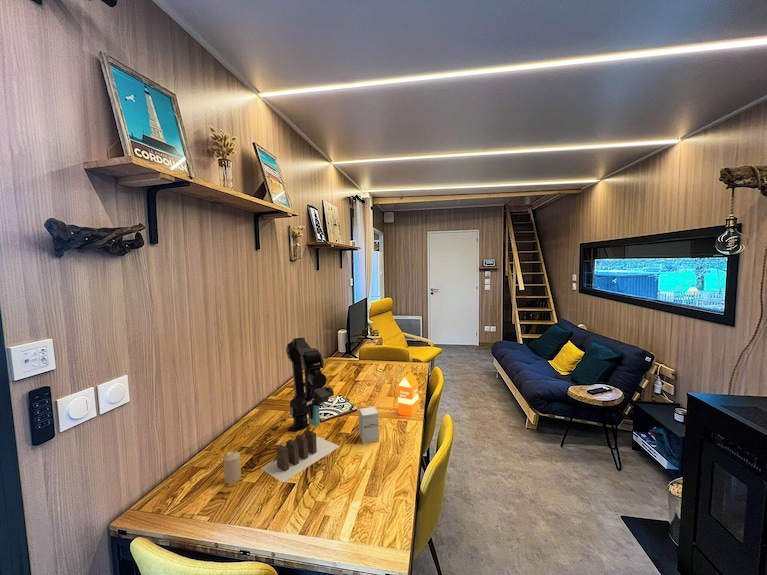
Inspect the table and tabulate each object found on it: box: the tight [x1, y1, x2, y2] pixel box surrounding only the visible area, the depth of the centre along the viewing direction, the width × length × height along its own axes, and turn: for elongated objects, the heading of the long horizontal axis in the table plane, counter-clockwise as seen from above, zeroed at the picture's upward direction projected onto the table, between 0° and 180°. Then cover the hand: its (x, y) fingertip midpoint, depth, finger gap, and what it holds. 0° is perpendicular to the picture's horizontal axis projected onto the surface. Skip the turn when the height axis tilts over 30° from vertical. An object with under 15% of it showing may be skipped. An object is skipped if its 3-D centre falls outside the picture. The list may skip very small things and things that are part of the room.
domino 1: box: [275, 444, 289, 472], centre depth 121 cm, size 2×5×8 cm, turn 53°
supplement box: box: [358, 406, 380, 444], centre depth 141 cm, size 7×7×13 cm
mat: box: [260, 436, 341, 483], centre depth 128 cm, size 14×28×1 cm, turn 143°
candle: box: [222, 449, 242, 485], centre depth 116 cm, size 6×6×10 cm
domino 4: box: [308, 404, 321, 428], centre depth 134 cm, size 2×5×8 cm, turn 51°
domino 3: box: [295, 434, 308, 460], centre depth 128 cm, size 2×5×8 cm, turn 53°
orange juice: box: [397, 371, 420, 417], centre depth 166 cm, size 8×9×20 cm
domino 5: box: [304, 429, 317, 454], centre depth 132 cm, size 2×5×8 cm, turn 53°
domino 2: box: [285, 439, 299, 465], centre depth 125 cm, size 2×5×8 cm, turn 53°
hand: (313, 417), depth 134 cm, fingers closed on domino 4, 2 cm apart
